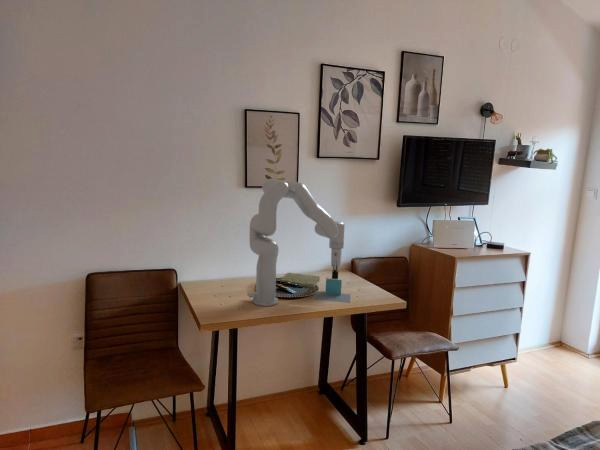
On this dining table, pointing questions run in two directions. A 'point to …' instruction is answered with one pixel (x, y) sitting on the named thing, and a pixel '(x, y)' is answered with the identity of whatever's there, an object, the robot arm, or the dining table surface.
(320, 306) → the dining table surface
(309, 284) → the decorative tile
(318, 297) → the rubber mat
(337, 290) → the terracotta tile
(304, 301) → the dining table surface
